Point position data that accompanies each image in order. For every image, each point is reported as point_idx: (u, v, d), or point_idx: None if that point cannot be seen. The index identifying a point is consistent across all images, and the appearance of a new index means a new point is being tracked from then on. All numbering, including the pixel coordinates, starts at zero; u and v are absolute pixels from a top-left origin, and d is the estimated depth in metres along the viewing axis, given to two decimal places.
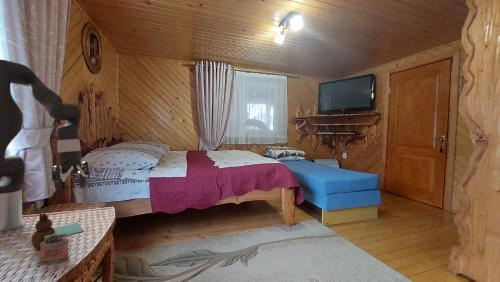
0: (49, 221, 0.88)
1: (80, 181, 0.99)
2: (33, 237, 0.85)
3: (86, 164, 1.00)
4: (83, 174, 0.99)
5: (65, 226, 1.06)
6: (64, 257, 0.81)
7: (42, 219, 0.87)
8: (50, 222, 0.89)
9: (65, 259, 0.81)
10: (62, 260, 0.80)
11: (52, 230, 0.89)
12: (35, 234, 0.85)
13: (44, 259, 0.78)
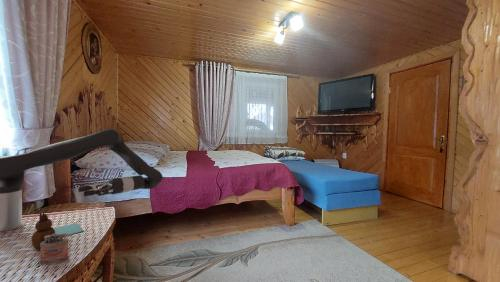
0: (49, 221, 0.88)
1: (83, 187, 1.00)
2: (33, 237, 0.85)
3: None
4: (91, 190, 1.03)
5: (65, 226, 1.06)
6: (64, 257, 0.81)
7: (42, 219, 0.87)
8: (50, 222, 0.89)
9: (65, 259, 0.81)
10: (62, 260, 0.80)
11: (52, 230, 0.89)
12: (35, 234, 0.85)
13: (44, 259, 0.78)
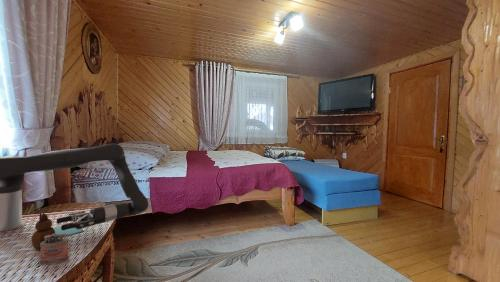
0: (49, 221, 0.88)
1: (62, 219, 0.96)
2: (33, 237, 0.85)
3: None
4: None
5: None
6: (64, 257, 0.81)
7: (42, 219, 0.87)
8: (50, 222, 0.89)
9: (65, 259, 0.81)
10: (62, 260, 0.80)
11: (52, 230, 0.89)
12: (35, 234, 0.85)
13: (44, 259, 0.78)
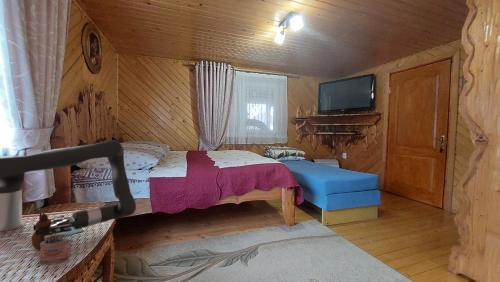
0: (49, 221, 0.88)
1: None
2: (33, 237, 0.85)
3: None
4: None
5: None
6: (64, 257, 0.81)
7: (42, 219, 0.87)
8: (50, 222, 0.89)
9: (65, 259, 0.81)
10: (62, 260, 0.80)
11: None
12: (35, 234, 0.85)
13: (44, 259, 0.78)
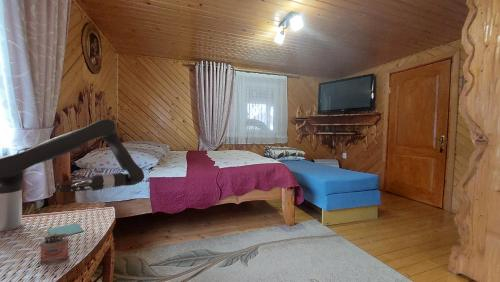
0: (70, 181, 1.01)
1: None
2: (57, 194, 0.98)
3: None
4: None
5: (65, 226, 1.06)
6: (64, 257, 0.81)
7: (64, 179, 1.00)
8: (71, 182, 1.02)
9: (65, 259, 0.81)
10: (62, 260, 0.80)
11: None
12: (59, 191, 0.98)
13: (44, 259, 0.78)
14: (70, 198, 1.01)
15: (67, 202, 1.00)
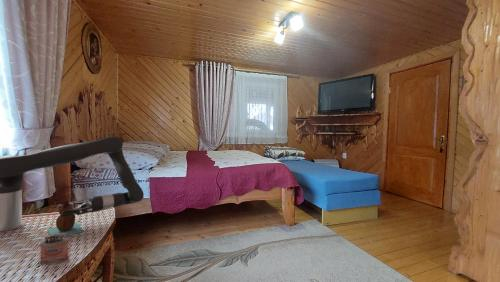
0: (70, 207, 1.02)
1: None
2: (57, 220, 0.99)
3: None
4: None
5: None
6: (64, 257, 0.81)
7: (65, 205, 1.01)
8: (71, 208, 1.03)
9: (65, 259, 0.81)
10: (62, 260, 0.80)
11: (73, 215, 1.03)
12: (59, 218, 0.99)
13: (44, 259, 0.78)
14: (70, 224, 1.02)
15: (67, 228, 1.01)
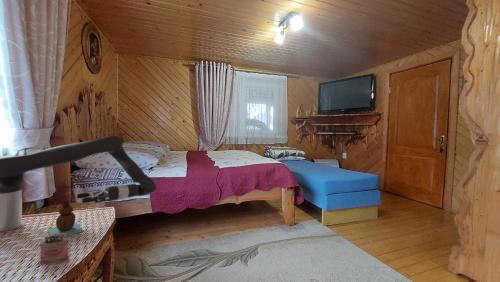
0: (70, 207, 1.02)
1: (82, 194, 1.09)
2: (57, 220, 0.99)
3: None
4: (89, 196, 1.11)
5: None
6: (64, 257, 0.81)
7: (65, 205, 1.01)
8: (71, 208, 1.03)
9: (65, 259, 0.81)
10: (62, 260, 0.80)
11: (73, 215, 1.03)
12: (59, 218, 0.99)
13: (44, 259, 0.78)
14: (70, 224, 1.02)
15: (67, 228, 1.01)
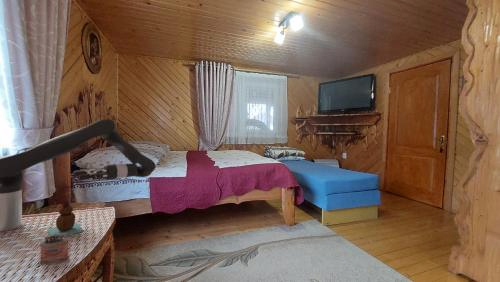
0: (70, 207, 1.02)
1: (79, 172, 1.05)
2: (57, 220, 0.99)
3: None
4: None
5: None
6: (64, 257, 0.81)
7: (65, 205, 1.01)
8: (71, 208, 1.03)
9: (65, 259, 0.81)
10: (62, 260, 0.80)
11: (73, 215, 1.03)
12: (59, 218, 0.99)
13: (44, 259, 0.78)
14: (70, 224, 1.02)
15: (67, 228, 1.01)
